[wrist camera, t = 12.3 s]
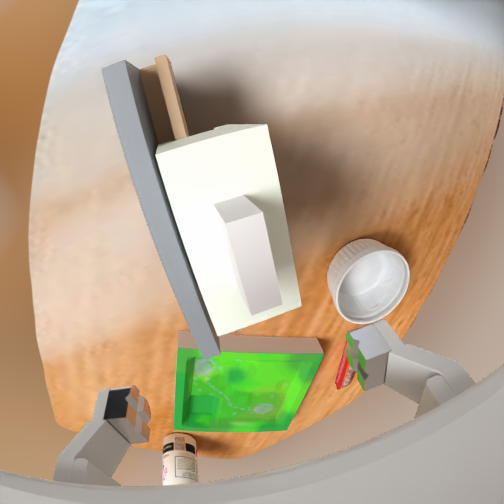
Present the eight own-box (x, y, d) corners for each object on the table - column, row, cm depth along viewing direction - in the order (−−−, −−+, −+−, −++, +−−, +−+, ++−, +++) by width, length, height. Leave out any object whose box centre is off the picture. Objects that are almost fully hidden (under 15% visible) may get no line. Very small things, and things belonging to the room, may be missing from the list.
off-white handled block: (158, 144, 27) (153, 162, 13) (227, 124, 28) (292, 125, 14) (197, 268, 34) (229, 372, 20) (257, 248, 35) (324, 335, 21)
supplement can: (200, 444, 67) (204, 494, 53) (170, 447, 66) (171, 496, 53) (189, 429, 63) (191, 483, 50) (157, 433, 63) (156, 485, 49)
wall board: (111, 95, 33) (59, 88, 18) (177, 73, 33) (161, 47, 19) (176, 290, 46) (169, 366, 32) (232, 275, 47) (247, 348, 32)
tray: (315, 336, 55) (324, 353, 51) (282, 413, 65) (286, 430, 61) (178, 328, 50) (177, 348, 46) (174, 411, 60) (173, 429, 56)
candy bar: (346, 380, 63) (351, 389, 61) (332, 383, 63) (336, 393, 60) (363, 326, 56) (369, 336, 54) (346, 329, 56) (352, 339, 53)
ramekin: (303, 278, 49) (318, 302, 43) (358, 215, 46) (380, 232, 39) (353, 311, 54) (369, 335, 48) (401, 258, 51) (422, 277, 44)
